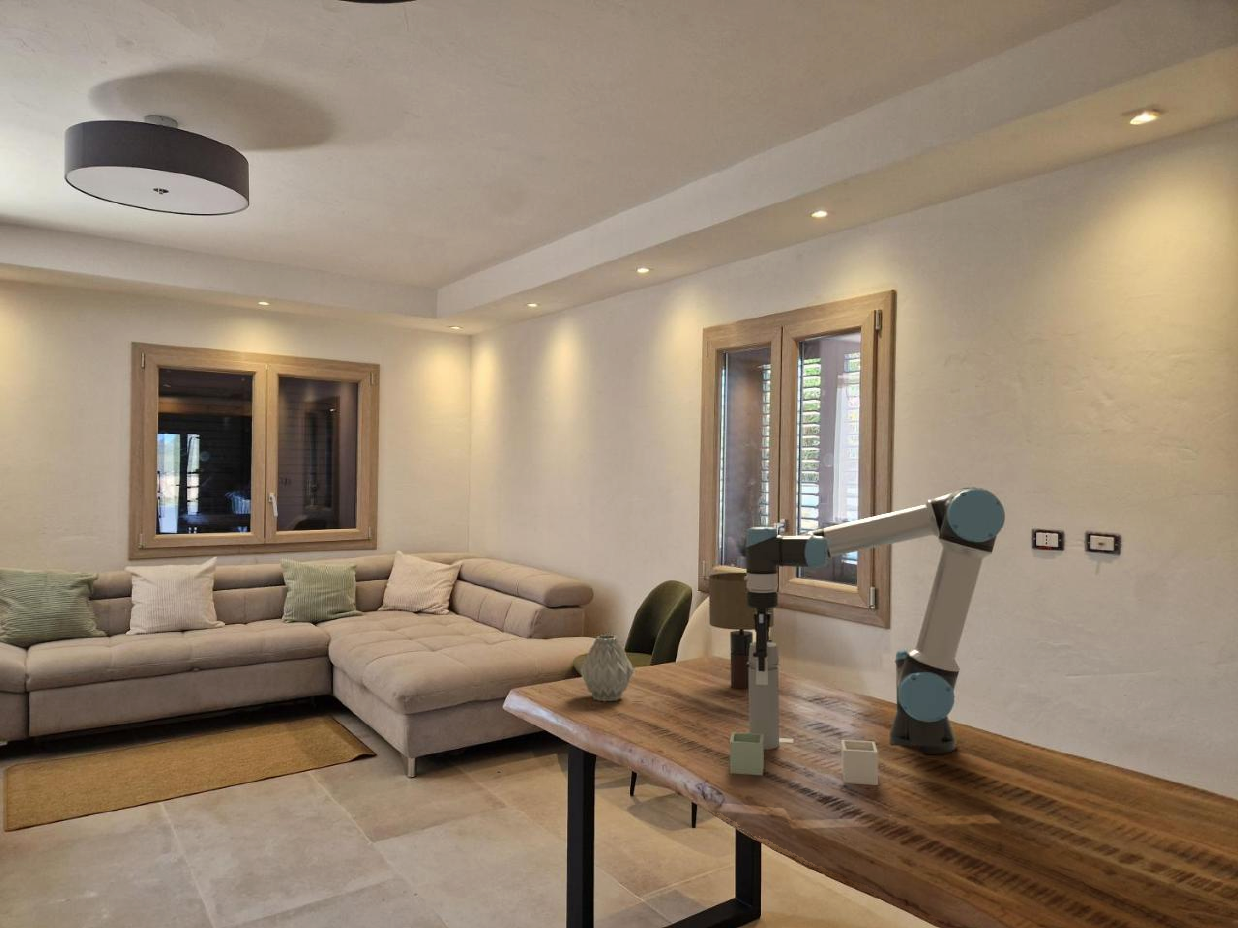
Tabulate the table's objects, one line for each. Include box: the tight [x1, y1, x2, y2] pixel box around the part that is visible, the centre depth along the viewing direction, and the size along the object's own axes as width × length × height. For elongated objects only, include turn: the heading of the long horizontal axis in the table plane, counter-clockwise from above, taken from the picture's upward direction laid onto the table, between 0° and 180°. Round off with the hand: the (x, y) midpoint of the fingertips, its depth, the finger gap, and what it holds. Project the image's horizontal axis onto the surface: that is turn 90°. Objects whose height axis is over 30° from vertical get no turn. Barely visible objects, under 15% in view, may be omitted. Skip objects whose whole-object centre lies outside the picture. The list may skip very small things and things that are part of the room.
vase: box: [579, 634, 635, 702], centre depth 243 cm, size 16×16×18 cm
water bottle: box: [747, 641, 781, 751], centre depth 196 cm, size 9×8×25 cm
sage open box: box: [729, 731, 765, 776], centre depth 179 cm, size 7×7×8 cm
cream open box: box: [840, 739, 879, 786], centre depth 173 cm, size 7×7×8 cm
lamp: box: [708, 572, 775, 690], centre depth 255 cm, size 20×20×35 cm
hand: (763, 677), depth 196 cm, fingers open, 13 cm apart
